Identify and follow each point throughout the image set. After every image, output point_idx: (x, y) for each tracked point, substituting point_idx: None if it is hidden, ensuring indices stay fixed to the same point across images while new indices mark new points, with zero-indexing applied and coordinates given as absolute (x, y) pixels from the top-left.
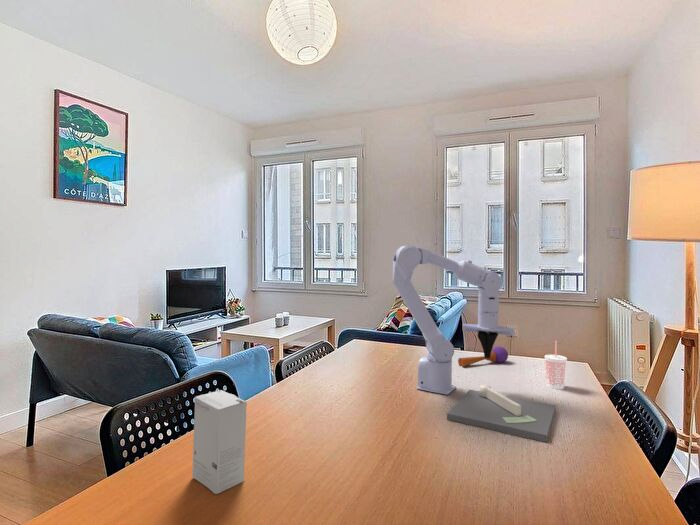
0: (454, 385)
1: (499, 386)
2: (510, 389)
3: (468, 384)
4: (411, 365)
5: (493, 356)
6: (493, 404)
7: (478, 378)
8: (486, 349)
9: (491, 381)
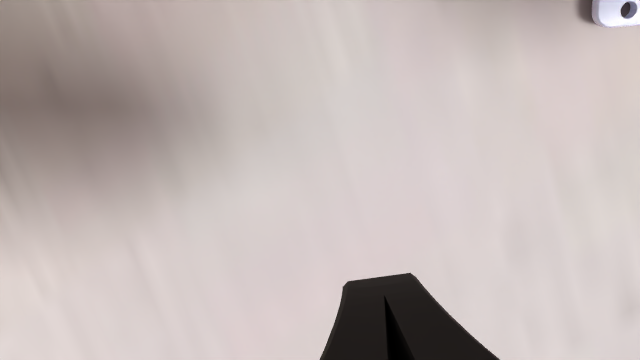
0: (613, 20)
1: (287, 266)
2: (197, 250)
3: (511, 171)
4: None
5: None
6: None
7: None
8: (408, 356)
9: None
